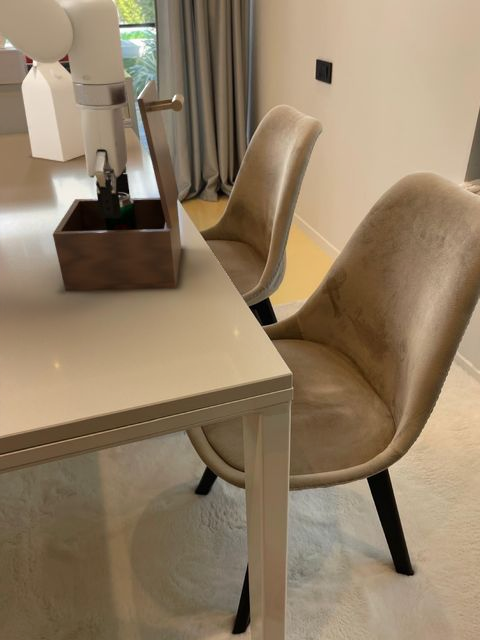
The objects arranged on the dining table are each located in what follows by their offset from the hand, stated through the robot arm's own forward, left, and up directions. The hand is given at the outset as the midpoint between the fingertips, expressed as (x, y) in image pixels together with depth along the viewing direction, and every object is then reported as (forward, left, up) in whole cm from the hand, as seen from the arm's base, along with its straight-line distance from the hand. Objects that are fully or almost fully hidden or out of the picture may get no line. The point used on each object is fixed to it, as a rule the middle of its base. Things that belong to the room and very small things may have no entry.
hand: (116, 207), depth 92 cm
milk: (-29, +77, -11) cm, 83 cm away
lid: (+8, 0, +8) cm, 12 cm away
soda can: (0, 0, -10) cm, 10 cm away
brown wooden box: (0, 0, -11) cm, 11 cm away
